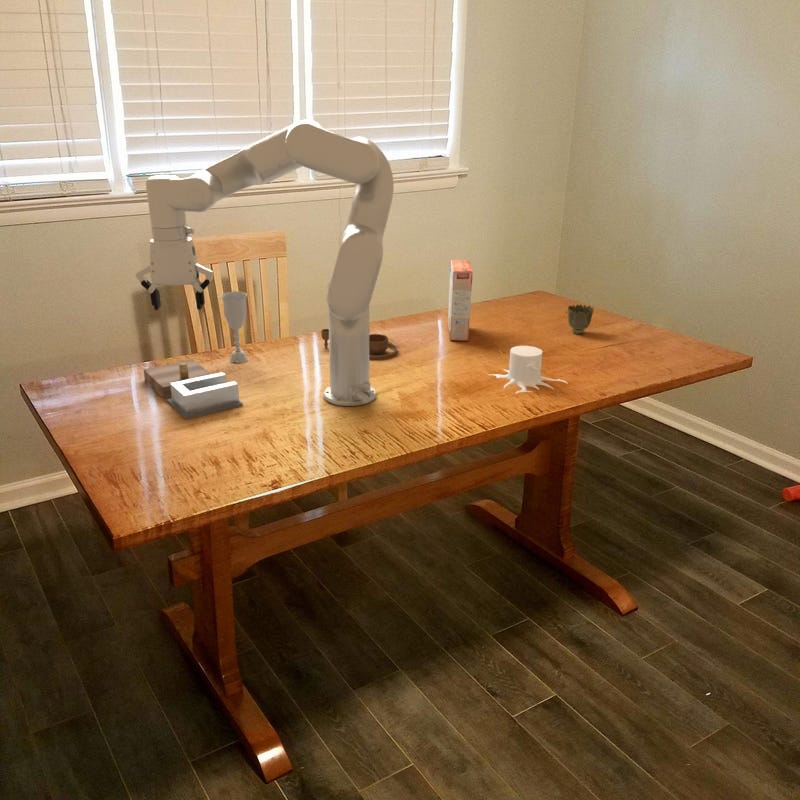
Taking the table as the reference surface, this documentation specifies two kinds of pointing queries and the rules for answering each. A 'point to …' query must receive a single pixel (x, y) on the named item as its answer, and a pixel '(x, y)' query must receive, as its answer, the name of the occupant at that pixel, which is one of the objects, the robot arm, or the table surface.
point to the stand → (172, 375)
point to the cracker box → (459, 300)
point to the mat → (203, 412)
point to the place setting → (371, 344)
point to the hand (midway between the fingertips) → (179, 308)
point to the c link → (204, 392)
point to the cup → (579, 317)
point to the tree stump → (525, 368)
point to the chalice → (235, 319)
